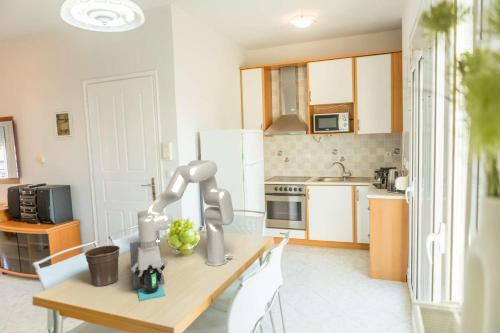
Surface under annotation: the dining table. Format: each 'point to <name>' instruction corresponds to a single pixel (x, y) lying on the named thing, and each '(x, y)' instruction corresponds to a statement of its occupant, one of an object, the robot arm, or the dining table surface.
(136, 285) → the case
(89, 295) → the dining table surface
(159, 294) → the mat
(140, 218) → the robot arm
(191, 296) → the dining table surface
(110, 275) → the plant pot
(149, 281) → the supplement bottle
